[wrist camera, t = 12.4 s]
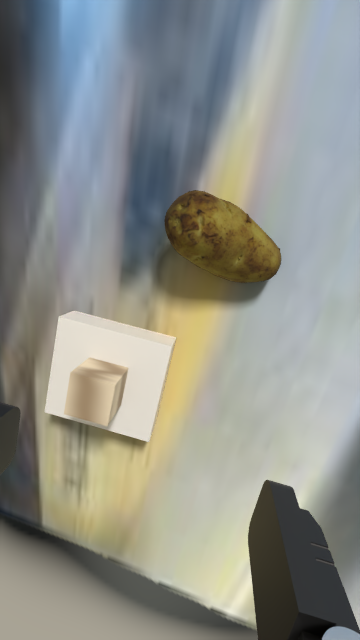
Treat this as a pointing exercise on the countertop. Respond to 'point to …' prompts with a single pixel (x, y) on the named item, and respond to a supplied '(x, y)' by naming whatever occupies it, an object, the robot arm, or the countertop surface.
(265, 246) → the potato
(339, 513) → the countertop surface
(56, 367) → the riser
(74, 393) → the birch block
